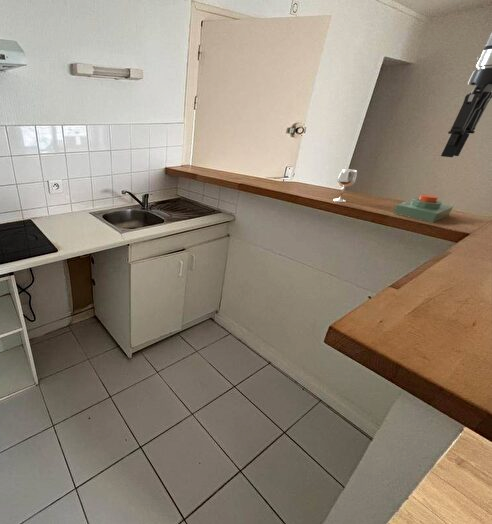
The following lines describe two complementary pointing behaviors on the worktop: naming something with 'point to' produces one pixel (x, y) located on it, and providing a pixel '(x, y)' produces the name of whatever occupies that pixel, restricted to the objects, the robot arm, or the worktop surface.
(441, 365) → the worktop surface
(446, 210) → the green button base
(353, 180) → the wineglass
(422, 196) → the release button
